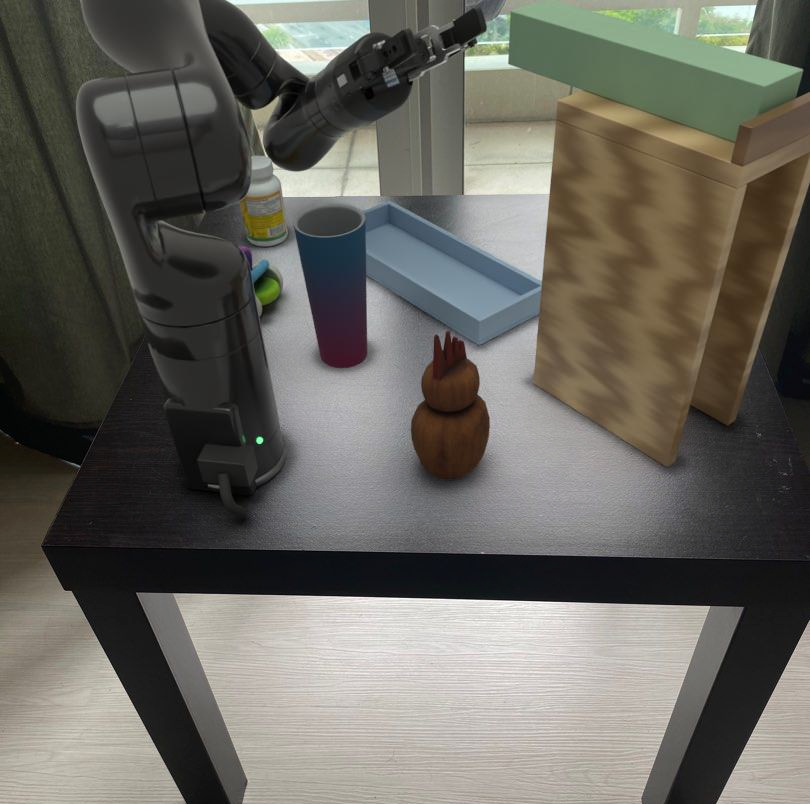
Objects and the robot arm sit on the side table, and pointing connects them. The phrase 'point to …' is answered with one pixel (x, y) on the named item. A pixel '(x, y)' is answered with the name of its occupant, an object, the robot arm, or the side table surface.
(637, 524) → the side table surface
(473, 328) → the tray
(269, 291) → the multicolored plastic toy
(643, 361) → the stand
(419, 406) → the wooden figurine
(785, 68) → the long sage green bar
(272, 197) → the supplement bottle
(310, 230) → the cup
